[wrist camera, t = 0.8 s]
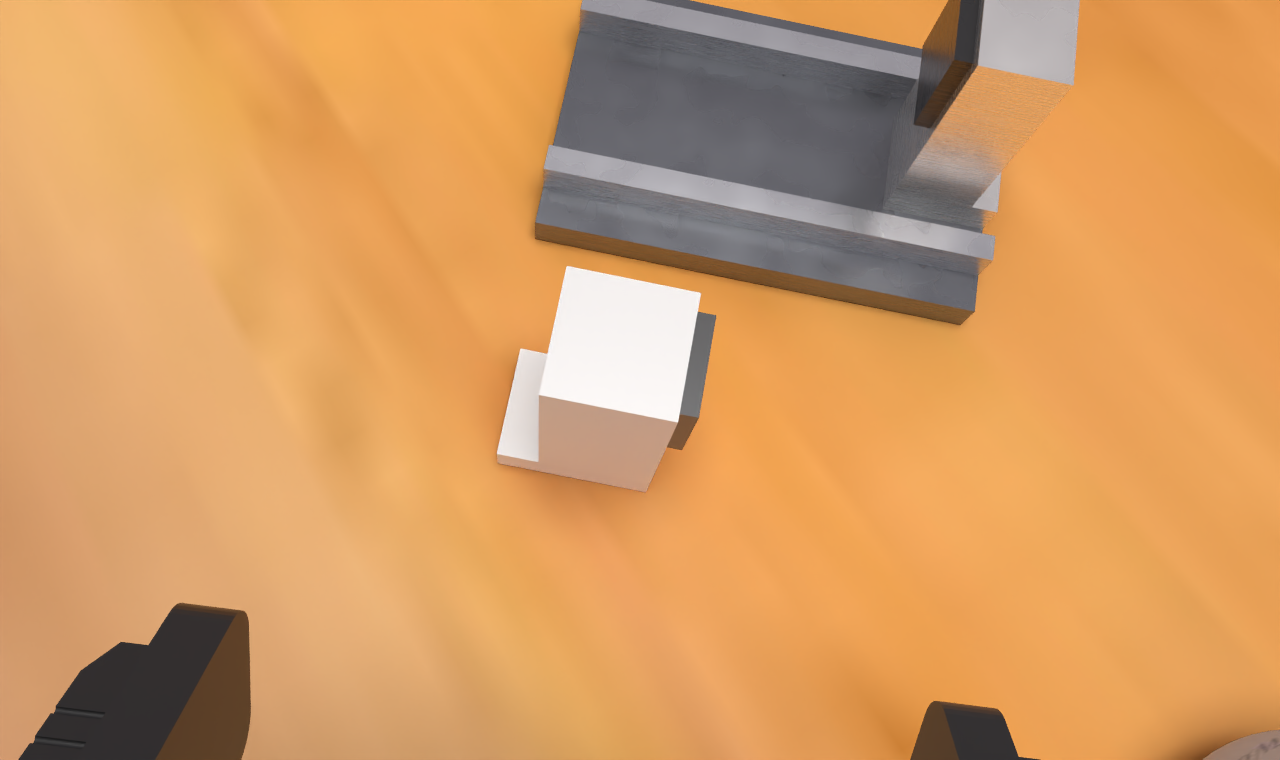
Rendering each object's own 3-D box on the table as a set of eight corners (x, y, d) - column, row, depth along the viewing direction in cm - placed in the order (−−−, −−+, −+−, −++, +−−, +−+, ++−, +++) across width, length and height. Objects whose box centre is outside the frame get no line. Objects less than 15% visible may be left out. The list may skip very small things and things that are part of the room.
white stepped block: (498, 463, 41) (486, 384, 32) (521, 361, 42) (516, 255, 33) (662, 495, 41) (699, 426, 32) (680, 392, 43) (720, 297, 33)
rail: (535, 238, 44) (534, 77, 33) (589, 2, 47) (605, -216, 36) (960, 324, 44) (1098, 193, 33) (984, 84, 48) (1117, -106, 37)
